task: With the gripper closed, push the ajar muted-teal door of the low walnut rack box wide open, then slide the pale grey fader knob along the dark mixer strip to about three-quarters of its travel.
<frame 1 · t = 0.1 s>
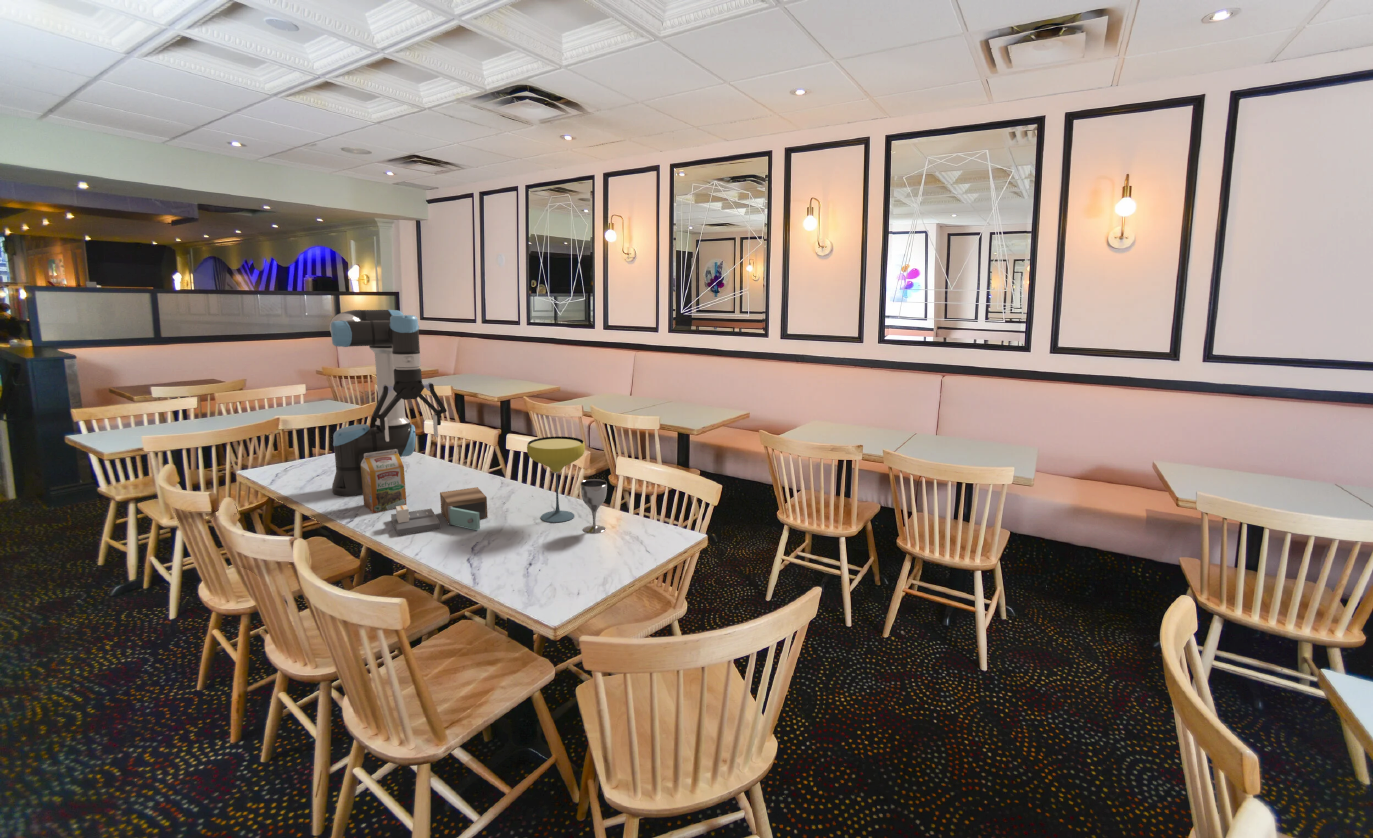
hand: (412, 438, 189), 28 cm above the table, fingers open, 13 cm apart
wine glass: (594, 530, 195), on the table
rack box: (464, 515, 205), on the table
milk carton: (385, 506, 212), on the table
rack door: (462, 518, 193), point 3 cm above the table, hinge at 55.0°
cocktail glass: (557, 517, 205), on the table
fader knob: (402, 513, 193), point 4 cm above the table, slide at 0.0 cm
mixer strip: (415, 524, 196), on the table
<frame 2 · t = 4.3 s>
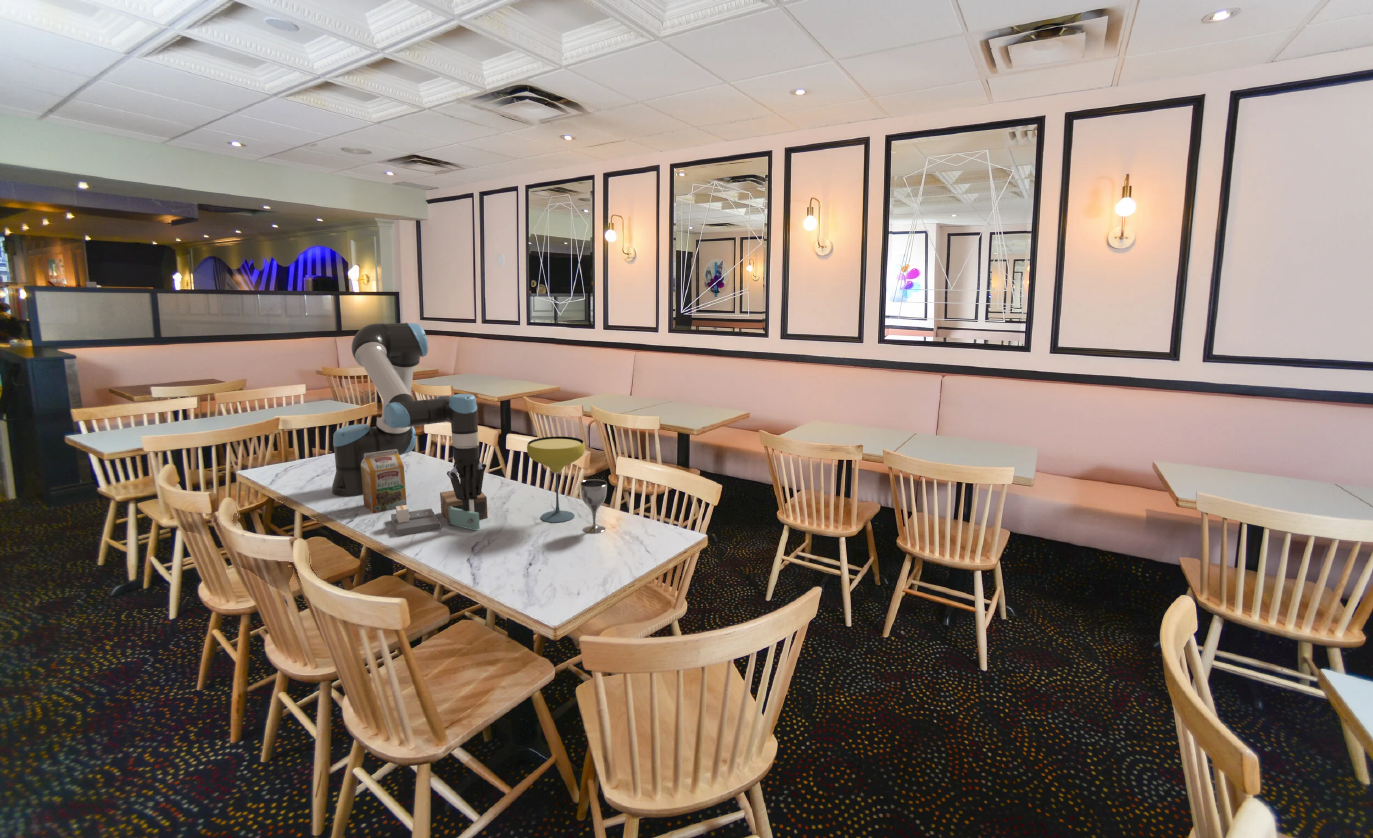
hand: (470, 519, 194), 2 cm above the table, fingers closed
rack door: (461, 518, 193), point 3 cm above the table, hinge at 56.1°, touching gripper
everything else where it was.
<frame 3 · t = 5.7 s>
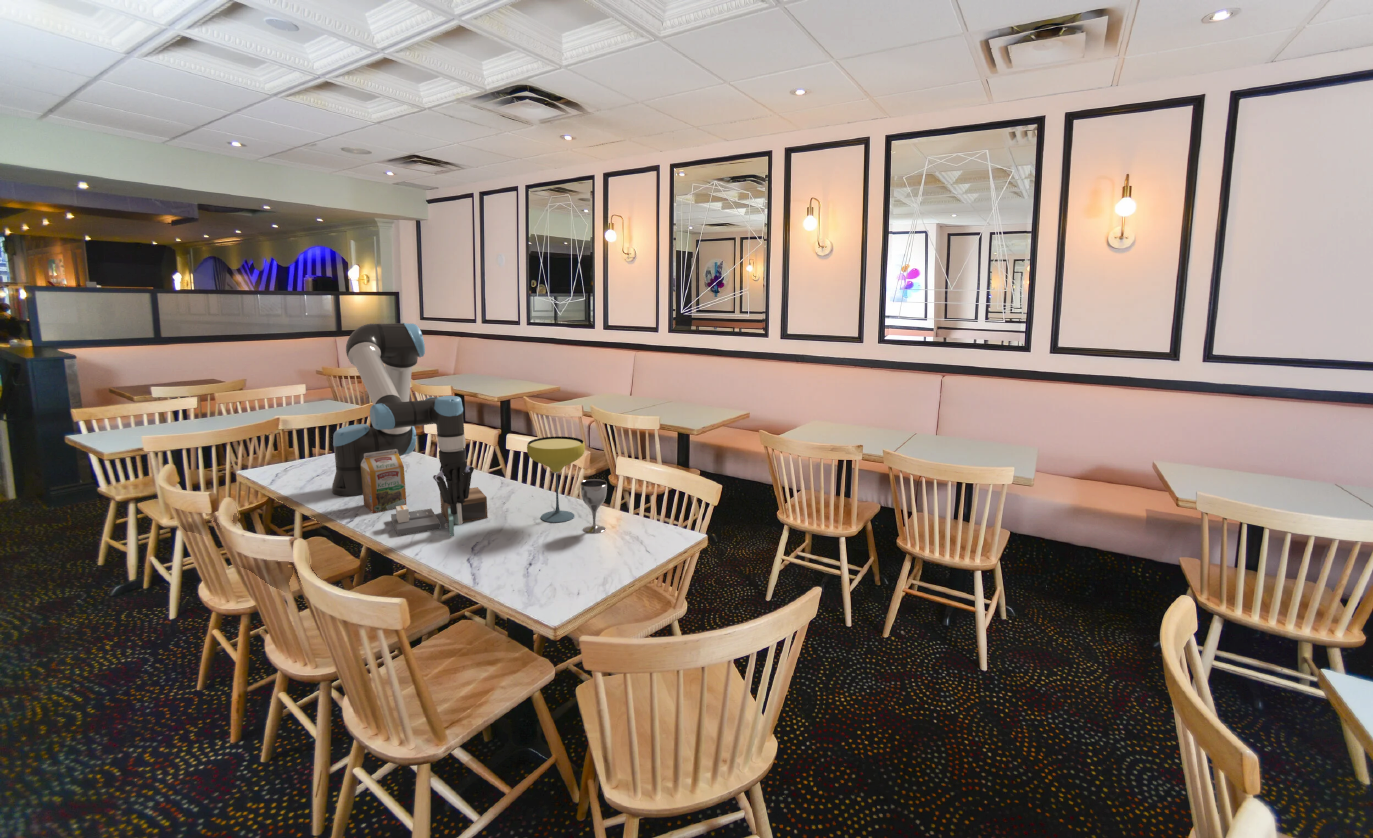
hand: (458, 523, 191), 2 cm above the table, fingers closed
rack door: (449, 521, 191), point 3 cm above the table, hinge at 99.7°, touching gripper
everything else where it was.
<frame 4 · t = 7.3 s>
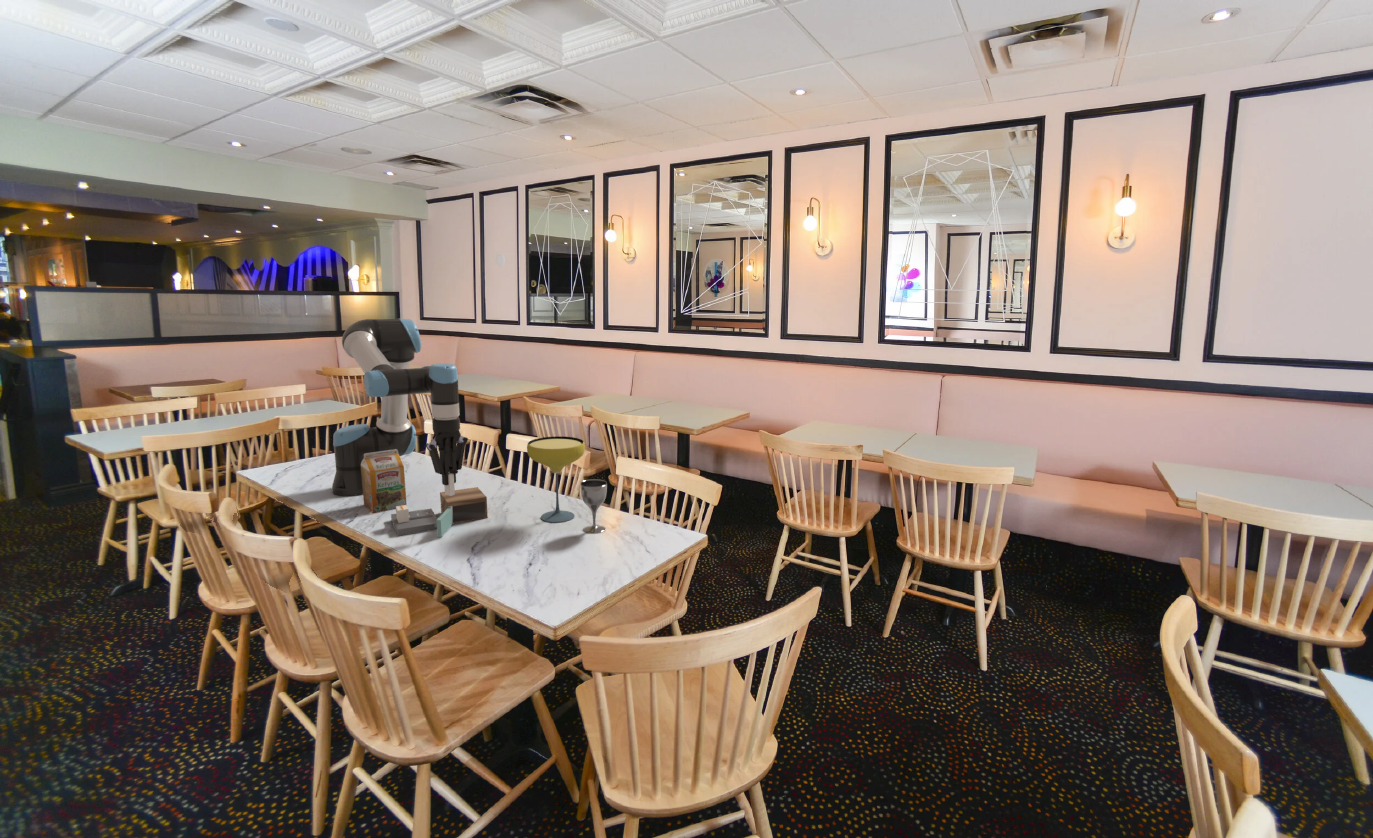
hand: (449, 494, 188), 12 cm above the table, fingers closed
rack door: (443, 521, 190), point 3 cm above the table, hinge at 117.8°
everything else where it was.
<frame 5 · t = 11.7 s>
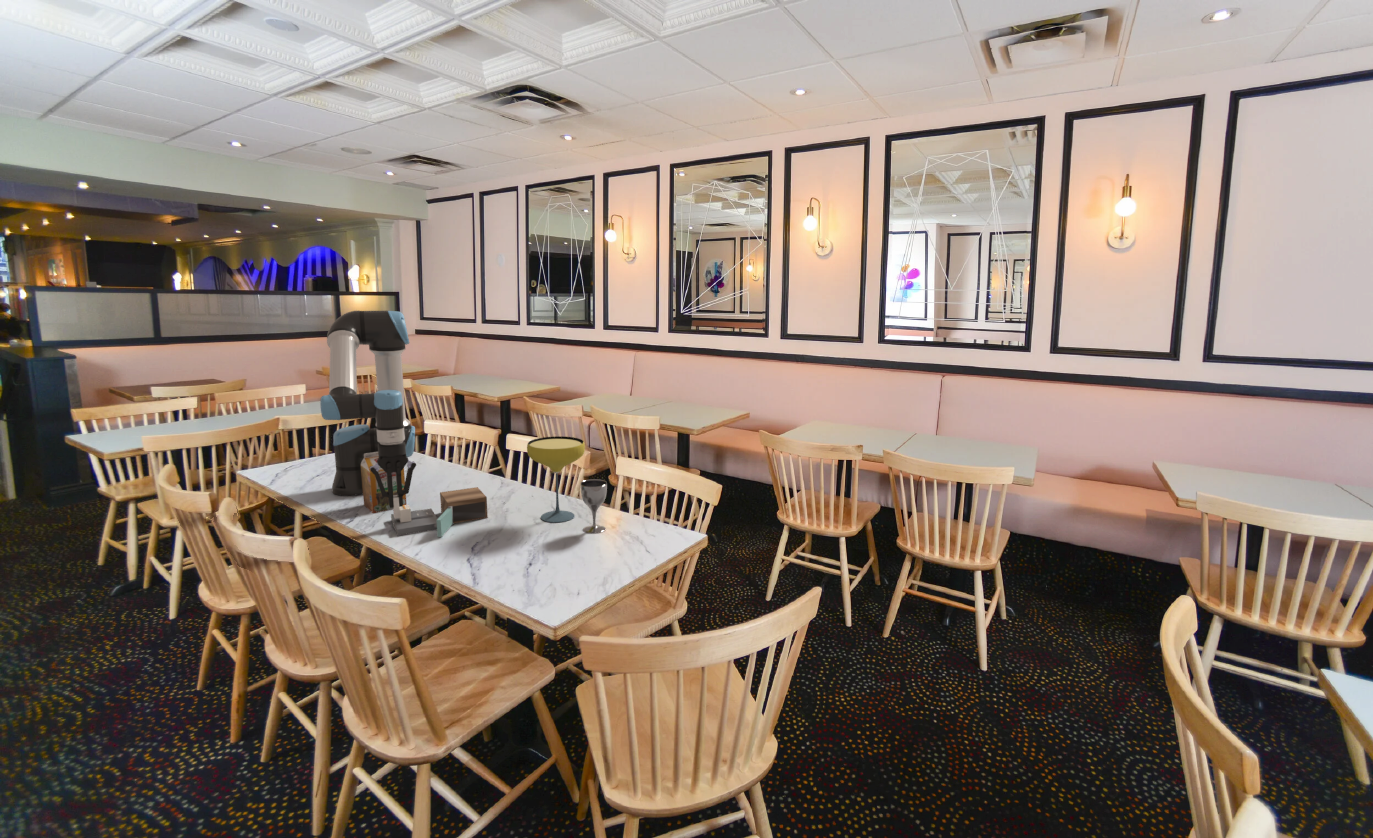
hand: (396, 516, 192), 3 cm above the table, fingers closed
fader knob: (404, 513, 193), point 4 cm above the table, slide at 0.6 cm, touching gripper
everything else where it was.
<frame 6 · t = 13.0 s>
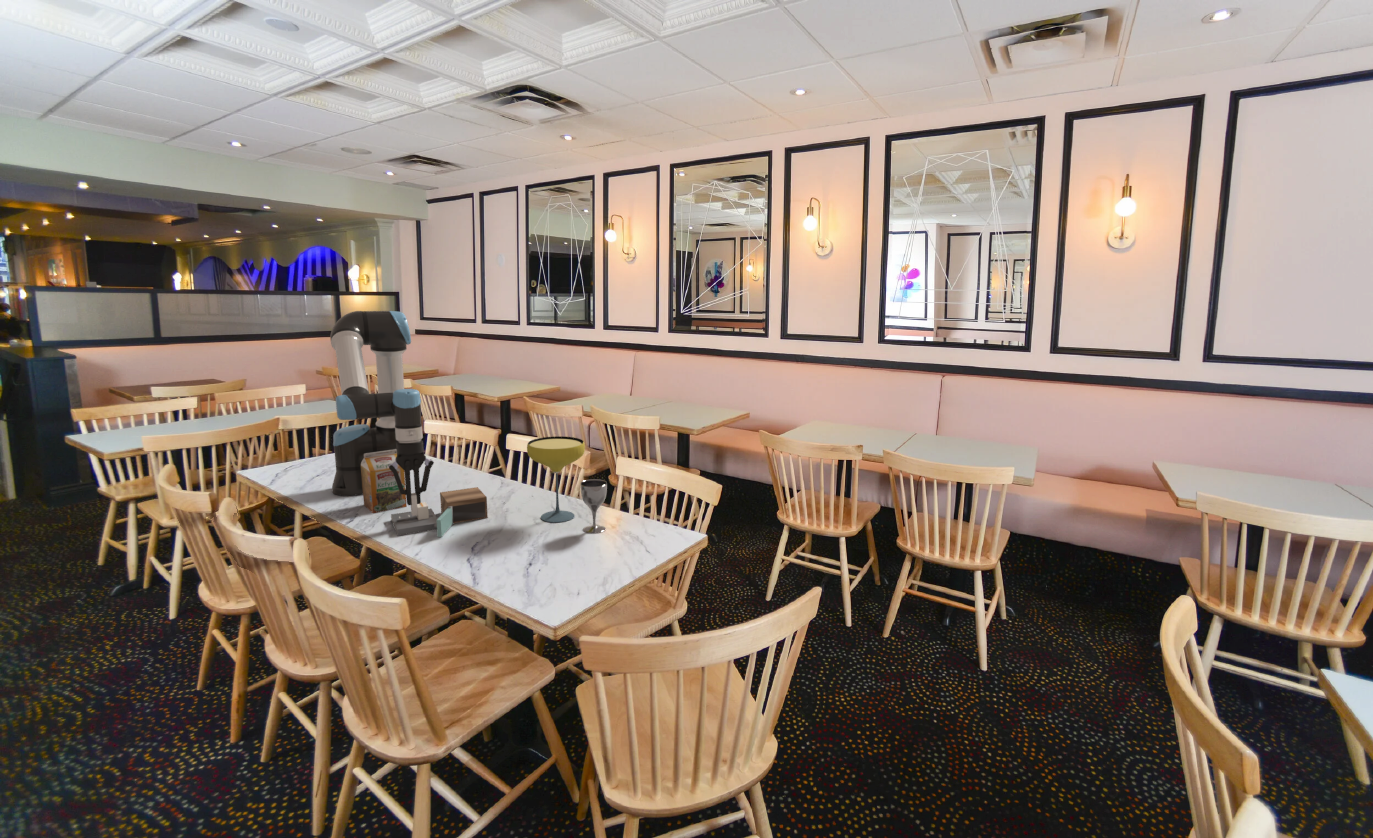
hand: (414, 514, 195), 3 cm above the table, fingers closed
fader knob: (422, 510, 196), point 4 cm above the table, slide at 5.6 cm, touching gripper
everything else where it was.
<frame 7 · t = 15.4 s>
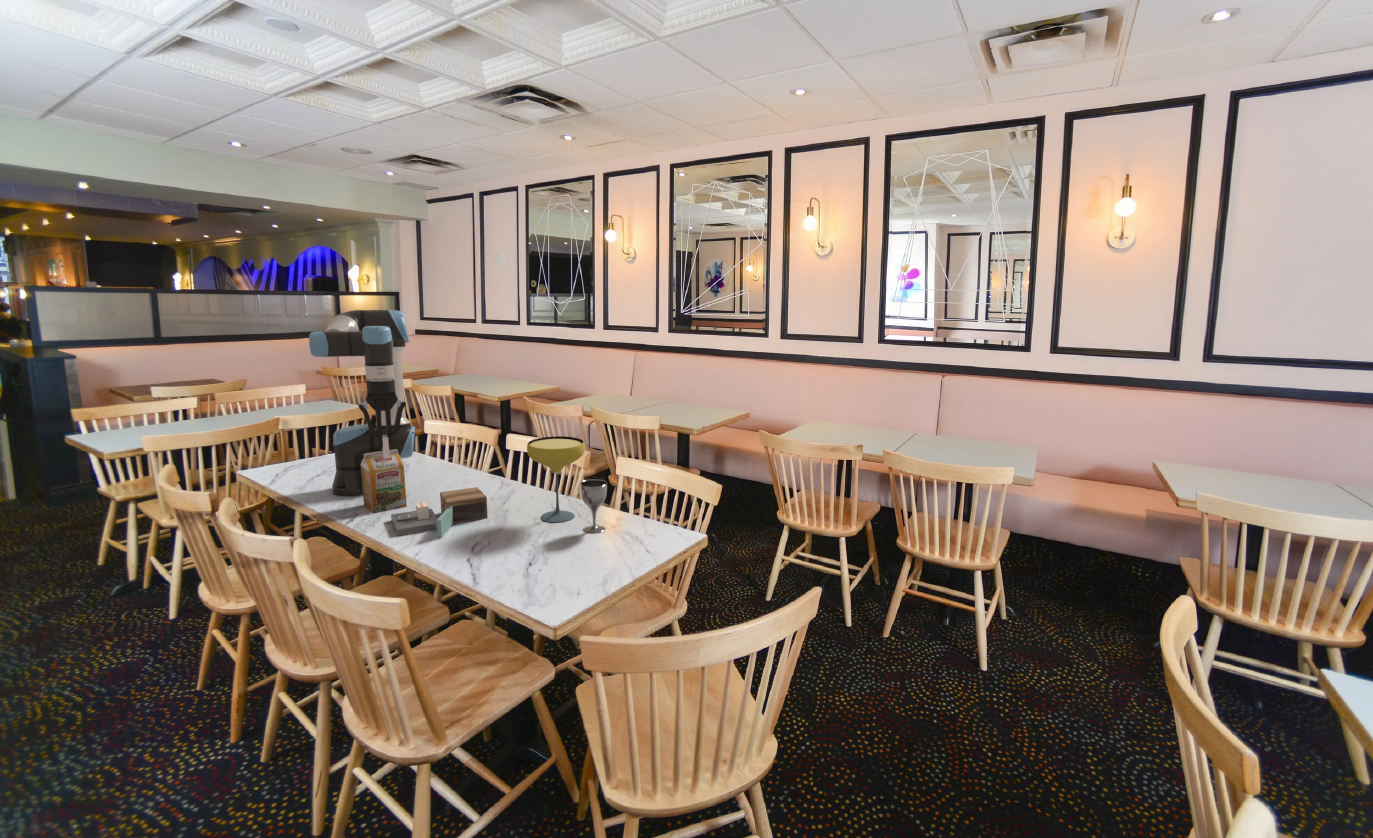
hand: (386, 457, 188), 22 cm above the table, fingers closed
fader knob: (422, 510, 196), point 4 cm above the table, slide at 5.7 cm
everything else where it was.
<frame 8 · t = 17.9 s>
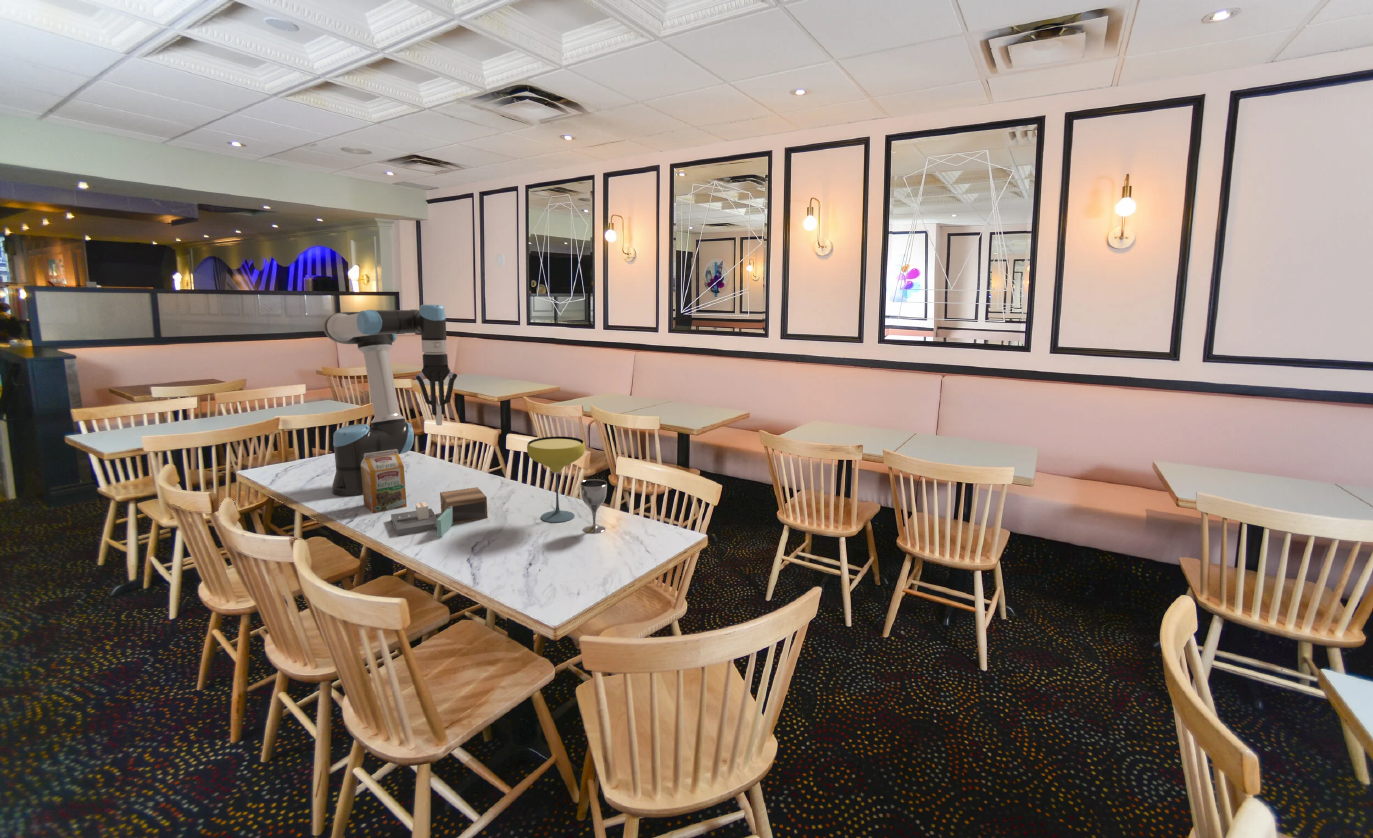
hand: (439, 424, 207), 28 cm above the table, fingers closed
nothing on the table moved.
at the end: rack door at +118° (first picture: +55°); fader knob slide at 5.7 cm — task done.
